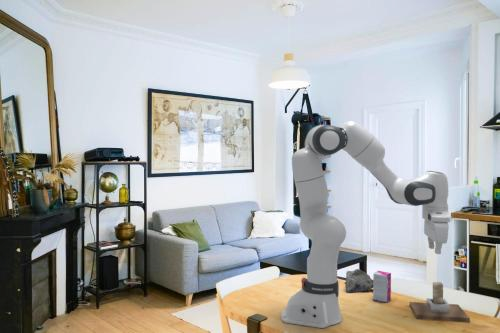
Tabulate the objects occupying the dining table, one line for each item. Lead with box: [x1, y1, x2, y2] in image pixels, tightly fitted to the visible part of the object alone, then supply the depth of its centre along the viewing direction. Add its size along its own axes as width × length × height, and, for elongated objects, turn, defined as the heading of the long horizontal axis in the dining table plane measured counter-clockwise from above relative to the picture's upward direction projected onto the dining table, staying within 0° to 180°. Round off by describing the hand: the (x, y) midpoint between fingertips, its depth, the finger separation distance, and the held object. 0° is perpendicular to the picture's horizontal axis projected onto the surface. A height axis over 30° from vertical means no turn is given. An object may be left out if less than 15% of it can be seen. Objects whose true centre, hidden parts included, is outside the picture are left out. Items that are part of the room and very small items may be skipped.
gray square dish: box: [426, 297, 450, 313], centre depth 156 cm, size 7×7×3 cm
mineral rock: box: [344, 268, 373, 293], centre depth 184 cm, size 13×11×10 cm
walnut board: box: [409, 301, 471, 323], centre depth 156 cm, size 18×14×2 cm
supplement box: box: [372, 270, 392, 304], centre depth 171 cm, size 6×6×12 cm
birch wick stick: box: [432, 281, 444, 304], centre depth 156 cm, size 3×3×10 cm
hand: (434, 251), depth 154 cm, fingers open, 8 cm apart
